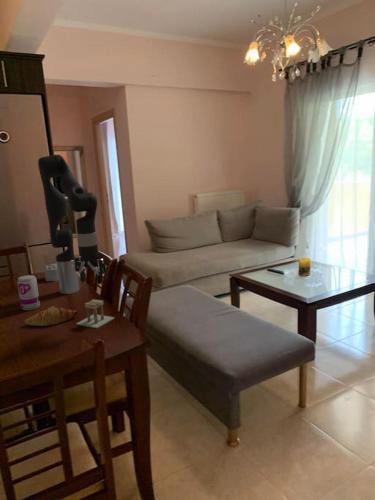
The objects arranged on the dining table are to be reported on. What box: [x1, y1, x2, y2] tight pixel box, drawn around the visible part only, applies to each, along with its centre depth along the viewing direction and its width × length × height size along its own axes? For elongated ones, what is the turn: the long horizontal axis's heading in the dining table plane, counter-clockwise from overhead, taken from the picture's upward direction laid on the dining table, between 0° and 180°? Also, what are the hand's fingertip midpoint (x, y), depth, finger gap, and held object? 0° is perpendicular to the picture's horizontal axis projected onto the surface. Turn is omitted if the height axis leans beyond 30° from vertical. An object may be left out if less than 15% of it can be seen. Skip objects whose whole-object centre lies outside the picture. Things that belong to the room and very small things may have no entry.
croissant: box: [24, 305, 78, 327], centre depth 157 cm, size 21×10×8 cm, turn 110°
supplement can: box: [16, 274, 41, 311], centre depth 174 cm, size 8×8×15 cm
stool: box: [84, 299, 105, 323], centre depth 154 cm, size 5×5×8 cm
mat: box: [75, 313, 115, 329], centre depth 155 cm, size 11×11×1 cm
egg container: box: [43, 262, 59, 282], centre depth 223 cm, size 10×13×9 cm
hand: (91, 282), depth 151 cm, fingers open, 8 cm apart
